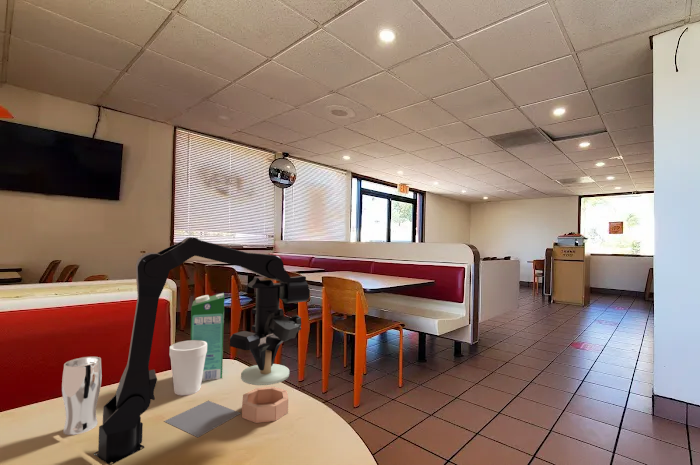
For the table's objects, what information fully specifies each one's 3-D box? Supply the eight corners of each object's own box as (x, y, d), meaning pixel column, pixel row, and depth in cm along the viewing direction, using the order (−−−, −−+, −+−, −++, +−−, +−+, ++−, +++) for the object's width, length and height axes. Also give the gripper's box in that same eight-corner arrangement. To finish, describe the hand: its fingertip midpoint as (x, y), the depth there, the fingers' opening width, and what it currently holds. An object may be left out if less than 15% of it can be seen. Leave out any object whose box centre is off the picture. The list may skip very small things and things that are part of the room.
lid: (266, 389, 78) (267, 363, 78) (230, 378, 84) (231, 353, 84) (298, 372, 88) (299, 349, 88) (264, 363, 94) (265, 342, 94)
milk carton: (191, 372, 110) (193, 293, 110) (221, 369, 113) (224, 292, 113) (189, 383, 101) (191, 298, 102) (222, 380, 104) (224, 297, 105)
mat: (197, 439, 74) (197, 437, 74) (163, 423, 80) (163, 421, 80) (241, 415, 84) (241, 413, 84) (208, 402, 90) (208, 400, 90)
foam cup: (212, 386, 100) (213, 341, 100) (194, 401, 91) (196, 351, 91) (180, 384, 101) (182, 339, 101) (160, 398, 92) (162, 349, 92)
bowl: (265, 429, 78) (266, 411, 78) (232, 416, 84) (232, 399, 84) (296, 409, 88) (296, 393, 88) (264, 398, 93) (264, 383, 93)
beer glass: (106, 427, 78) (108, 360, 78) (68, 442, 72) (71, 369, 72) (91, 418, 81) (93, 354, 82) (54, 432, 75) (56, 363, 76)
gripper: (265, 316, 74) (263, 389, 74) (316, 303, 90) (314, 363, 90) (229, 309, 79) (226, 378, 79) (283, 298, 96) (281, 355, 95)
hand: (265, 368), depth 86 cm, fingers closed on lid, 3 cm apart
